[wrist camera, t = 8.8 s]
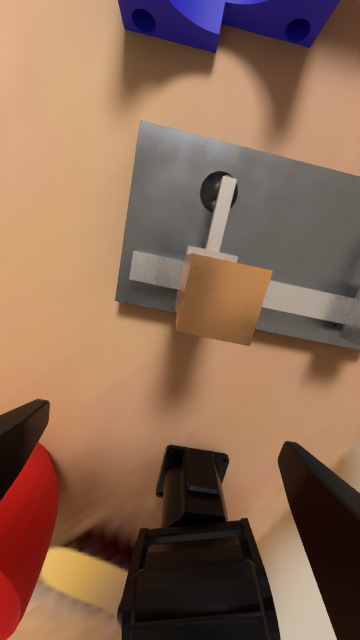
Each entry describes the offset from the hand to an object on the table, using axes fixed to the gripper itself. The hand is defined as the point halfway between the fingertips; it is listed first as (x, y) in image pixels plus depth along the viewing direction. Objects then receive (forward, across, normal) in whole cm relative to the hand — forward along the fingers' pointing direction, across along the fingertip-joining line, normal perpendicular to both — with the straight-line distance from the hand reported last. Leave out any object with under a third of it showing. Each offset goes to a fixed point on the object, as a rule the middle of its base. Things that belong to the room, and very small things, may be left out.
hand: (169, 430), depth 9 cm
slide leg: (+10, -1, -7) cm, 12 cm away
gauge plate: (+12, -6, -8) cm, 16 cm away
